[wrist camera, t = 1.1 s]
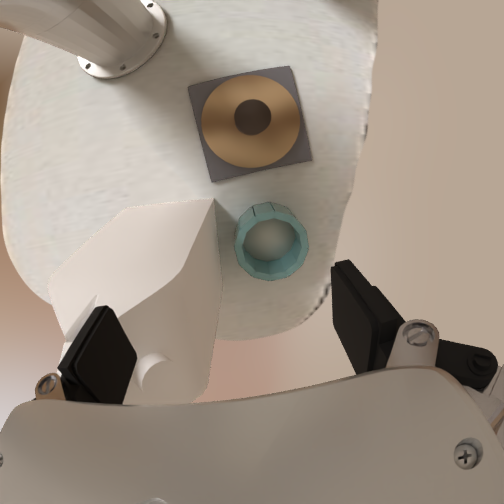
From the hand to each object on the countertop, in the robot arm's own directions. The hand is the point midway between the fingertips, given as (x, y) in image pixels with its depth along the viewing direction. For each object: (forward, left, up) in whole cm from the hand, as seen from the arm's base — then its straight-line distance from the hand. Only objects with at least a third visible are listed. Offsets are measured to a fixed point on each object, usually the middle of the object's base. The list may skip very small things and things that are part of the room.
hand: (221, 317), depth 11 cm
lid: (-9, +4, -23) cm, 25 cm away
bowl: (+5, +3, -23) cm, 24 cm away
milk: (+4, -9, -24) cm, 25 cm away
